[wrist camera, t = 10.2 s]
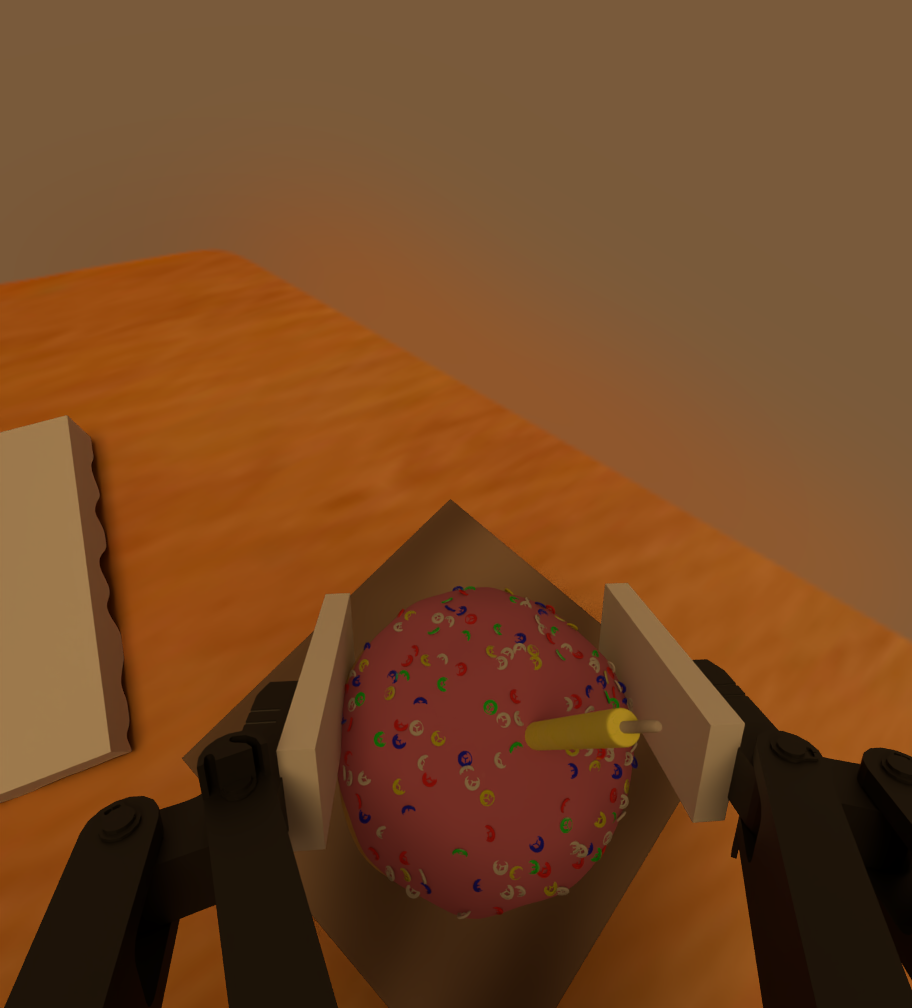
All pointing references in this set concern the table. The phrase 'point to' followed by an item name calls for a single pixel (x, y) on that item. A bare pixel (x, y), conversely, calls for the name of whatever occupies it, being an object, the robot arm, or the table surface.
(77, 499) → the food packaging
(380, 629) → the riser
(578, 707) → the cupcake
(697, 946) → the table surface
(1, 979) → the table surface
